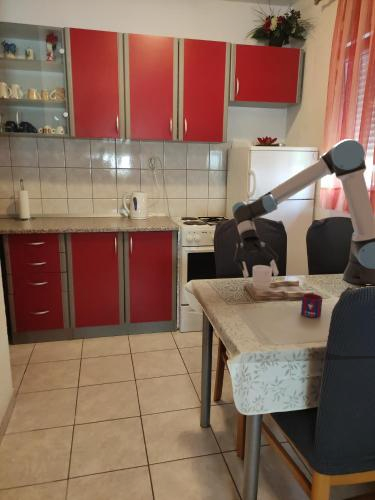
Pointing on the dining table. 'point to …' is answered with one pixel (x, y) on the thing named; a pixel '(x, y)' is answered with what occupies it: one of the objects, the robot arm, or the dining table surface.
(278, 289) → the wooden tray
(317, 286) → the dining table surface
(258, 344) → the dining table surface
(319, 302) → the mug
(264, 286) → the white cup
